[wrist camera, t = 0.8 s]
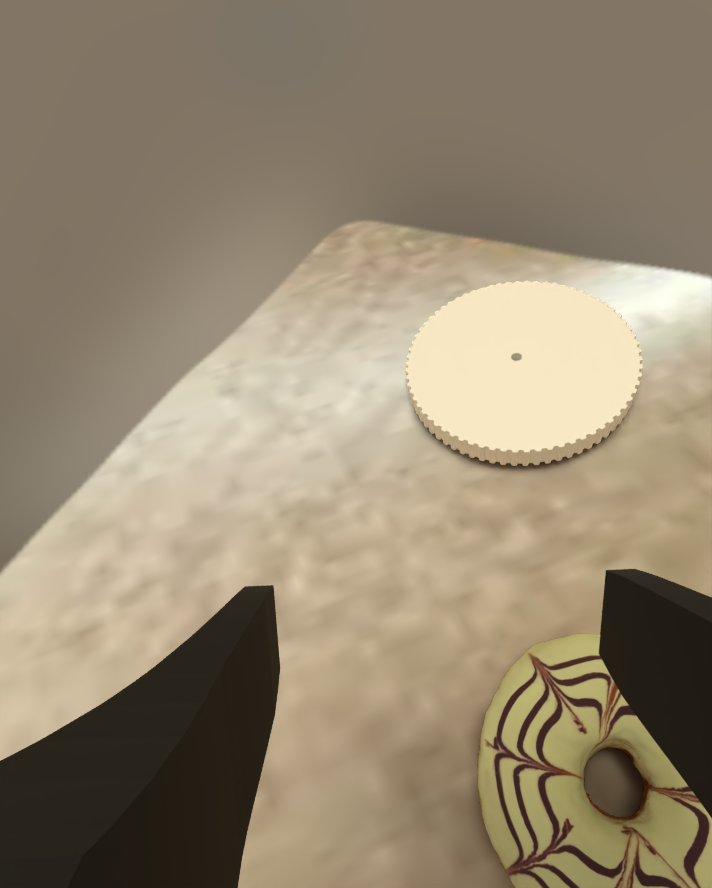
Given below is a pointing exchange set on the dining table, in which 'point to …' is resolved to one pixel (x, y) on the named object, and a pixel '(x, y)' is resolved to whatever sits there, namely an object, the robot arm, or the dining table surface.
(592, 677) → the decorated donut
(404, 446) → the dining table surface
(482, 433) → the plastic lid
